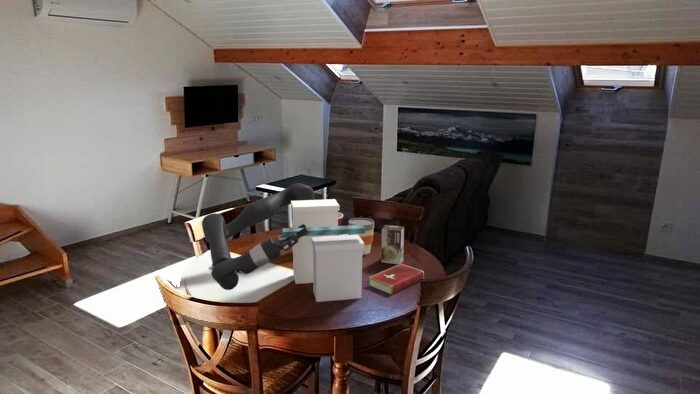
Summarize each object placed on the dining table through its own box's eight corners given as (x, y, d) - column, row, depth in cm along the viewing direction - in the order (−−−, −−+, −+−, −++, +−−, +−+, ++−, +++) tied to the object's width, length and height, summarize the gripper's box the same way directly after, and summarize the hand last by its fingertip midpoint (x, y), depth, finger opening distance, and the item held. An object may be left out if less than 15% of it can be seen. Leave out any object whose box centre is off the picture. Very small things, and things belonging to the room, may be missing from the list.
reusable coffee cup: (360, 245, 233) (361, 216, 230) (379, 251, 225) (380, 221, 221) (342, 251, 225) (342, 221, 221) (360, 258, 216) (361, 227, 213)
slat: (283, 237, 167) (283, 231, 167) (282, 233, 171) (282, 228, 170) (365, 233, 173) (365, 228, 173) (362, 230, 177) (362, 224, 177)
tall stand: (294, 284, 188) (293, 207, 180) (292, 274, 197) (290, 200, 189) (338, 281, 191) (339, 205, 184) (334, 271, 201) (334, 199, 193)
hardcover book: (423, 280, 195) (424, 270, 194) (391, 296, 180) (392, 286, 179) (400, 271, 203) (401, 262, 202) (368, 286, 188) (368, 276, 187)
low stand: (315, 302, 173) (315, 246, 167) (311, 291, 182) (311, 237, 177) (363, 298, 176) (364, 243, 171) (357, 287, 186) (358, 234, 181)
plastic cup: (320, 239, 241) (320, 216, 238) (324, 232, 252) (324, 211, 249) (341, 240, 239) (341, 218, 237) (344, 234, 250) (345, 212, 247)
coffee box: (403, 260, 215) (405, 226, 211) (400, 265, 209) (401, 230, 205) (384, 257, 218) (385, 224, 214) (380, 262, 212) (381, 228, 208)
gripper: (260, 251, 161) (303, 225, 162) (259, 237, 175) (299, 214, 176) (271, 268, 164) (314, 242, 165) (269, 253, 177) (309, 230, 178)
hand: (306, 228), depth 170 cm, fingers closed on slat, 4 cm apart
